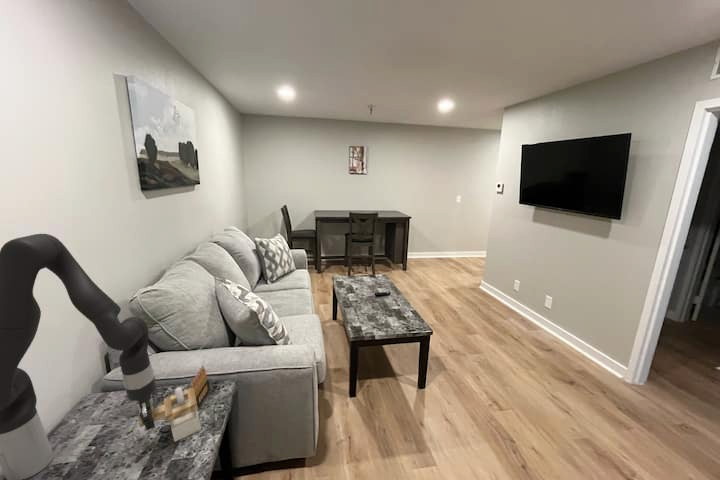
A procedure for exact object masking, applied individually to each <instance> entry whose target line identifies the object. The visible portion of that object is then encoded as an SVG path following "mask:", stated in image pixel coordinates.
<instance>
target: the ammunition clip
mask: <svg viewBox="0 0 720 480" xmlns="http://www.w3.org/2000/svg"><path fill="white" fill-rule="evenodd" d="M189 384H190V385H189V386H190V388H193V389H194V393H195V397H196V402H197V407H198V410H199V409H200V408H201V406H202V404H203V402H204V401H205V399H206V398H207V396H208V394H209V392H210V391H211V385H210V384H211V383H210V380H209V378H208V375H207V371H206V369H205V367H204V365H201V368H200V367H199V371H197V373H196V374H195V376H194V377H193V378H192V381H190V383H189Z"/></svg>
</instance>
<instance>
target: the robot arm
mask: <svg viewBox="0 0 720 480" xmlns="http://www.w3.org/2000/svg"><path fill="white" fill-rule="evenodd" d="M43 269H47V270H49V271H50V272H51V273H53V274H54V275H55V276H57V277H58V279H59V280H60V281H61V283H62V284H63V286H64V287H65V290H66V293H67V295H68V298H69V300H70V302H71V303H72V305H73V306H74V308H75V309H76V310H77V311H78V312H79V313H80V314H82V315H83V317H85V318H86V319H87V320H89V321H90V322H91V323H93V325H94V326H95V328H96V330H97V332H98V333H99V335H100V336H101V338H102V340H103V341H104V343H105V344H106V345H107V346H108V347H109V348H110V349H112V350H114V351H120V352H121V353H120V355H119V359H118V360H119V361H118V362H119V366H120V370H121V372H122V374H121V375H122V382H123V384H124V385H123V386H124V389H125V394H126V396H127V399H128V400H129V401H131V402H136V405H135V406H136V408H137V409H138V413H139V414H140V415H139V414H138V417H139V416H140V418H141V420H142V423H143V424H145V426H144V427H145V430H146V431H149V430H152V429H154V428H155V421H153V415H152V412H153V409H154V407H153V404H154V401H153V394H154V392H156V391H157V383H156V378H155V373H154V370H153V367H152V364H151V362H150V356H149V352H148V348H149V327H148V325H147V322H146V321H145V320H144V319H143V318H141V317H139V316H130V317H128V318H126V319H124V320H123V321H122V322H121V321H120V320H119V318H118V316H119V314H120V312H121V311H122V310H121V307H120V305H118V303H116V302H115V300H113V299H112V298H111V297H110V296H109V295H108V294H106V292H104V291H103V290H102V289H101V288H100V287H99V286H98V285H97V284H96V283H95V282H94V280H92V279H91V277H90V276H89V275H88V273H86V271H85V270H84V269H83V267H82V266H81V265H80V264H79V262H78V261H77V260H76V259H75V257H74V256H73V254H72V253H71V252H70V251H69V249H68V248H67V247H66V246H65V244H64V243H63V242H62V241H61V240H60V239H58V238H57V237H56V236H53V235H52V234H49V233H37V234H36V233H35V234H31V235H26V236H22V237H16V238H14V239H11V240H8V241H7V242H5V243H4V244H3V245H2V246H1V248H0V468H1V470H2V473H3V474H4V476H5V479H6V480H23V479H24V480H27V479H29V478H31V477H33V476H35V475H37V474H39V473H40V472H41V471H42V470H44V469H45V468H46V467H47V466H48V465H50V464H51V462H52V460H53V459H54V455H55V454H54V451H53V448H52V446H51V443H50V440H49V437H48V435H47V433H46V429H45V428H44V425H43V423H42V421H41V417H40V415H39V412H38V410H37V407H36V406H37V400H38V399H37V395H36V392H35V388H34V385H33V382H32V381H33V380H32V379H31V376H30V375H29V374H28V373H27V372H26V370H24V369H22V368H20V367H19V365H20V363H21V361H22V359H23V358H24V356H25V355H26V353H27V352H28V349H29V348H30V347H31V346H32V343H33V341H34V339H35V337H36V334H37V331H38V329H39V325H40V322H41V317H42V316H41V315H42V311H41V307H40V305H39V303H38V302H37V300H36V298H35V296H34V286H35V282H36V279H37V276H38V274H39V272H40V271H41V270H43Z"/></svg>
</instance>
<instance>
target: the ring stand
mask: <svg viewBox="0 0 720 480" xmlns="http://www.w3.org/2000/svg"><path fill="white" fill-rule="evenodd" d="M174 392H175V393H174V395H175V394H176V398H177V402H178V404H177V405H178V406H177V407H179V406H182V405H184V404H186V401H184V396H183V388H182V387H181V386H178V387H176V388H175V389H174ZM170 426H171V427H170V428H171V432H172V436H173V437H172V438H173V441H174V442H173V443H175V442H177V441H180V440H182V439H183V438H186V437H189V435H192V434H194V433H197V432H199V431H201V430H202V427H201V422H200V417H199V413H198V410H196V411H193V412H191V413H189V414H186V415H184V416H182V417H179V418H177V419H175V420H172V421H170Z"/></svg>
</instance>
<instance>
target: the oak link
mask: <svg viewBox="0 0 720 480" xmlns="http://www.w3.org/2000/svg"><path fill="white" fill-rule="evenodd" d="M182 392H183V396H184V401H185V402H186V401H188V402H187V403H185V404H184V405H182V406H179V407H178V406H177V407H174V408H173V406H175V405H178V402H177V398H176V394H175V393H174V394H172V395H170V396H168V397H164V398H163V404H162V405H159V406H157V407H153V412H152V415H153V421H154V422H156V421H159V420H161V419H164V418H165V421H166V423H167V424H168V423H171V421H172V420H175V419H177V418H179V417H182V416H184V415H186V414H189V413H191V412H193V411H196V410H197V411H198V410H199V409H198V407H197V402H196V397H195V393H194V389H193V388H191V387H190V388H188V389H185V390H182ZM139 415H140V414H138V425H139V428H141V427H146V426H145V424H143V423H142V420H141V418H140V416H139Z"/></svg>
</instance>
